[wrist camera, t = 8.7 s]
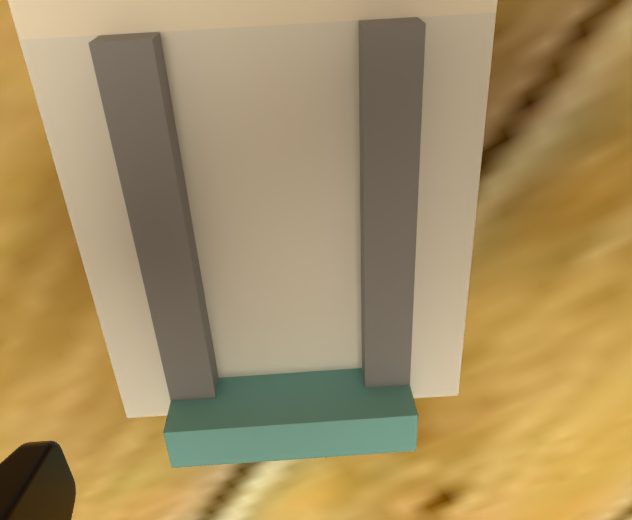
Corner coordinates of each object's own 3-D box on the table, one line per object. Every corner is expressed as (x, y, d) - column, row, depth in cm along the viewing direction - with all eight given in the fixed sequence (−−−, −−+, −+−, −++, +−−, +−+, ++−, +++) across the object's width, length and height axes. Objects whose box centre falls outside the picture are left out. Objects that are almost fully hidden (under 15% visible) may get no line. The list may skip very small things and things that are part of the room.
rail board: (503, -231, 14) (568, -273, 10) (450, 373, 23) (476, 446, 20) (-27, -204, 13) (-122, -239, 10) (134, 394, 22) (110, 472, 19)
